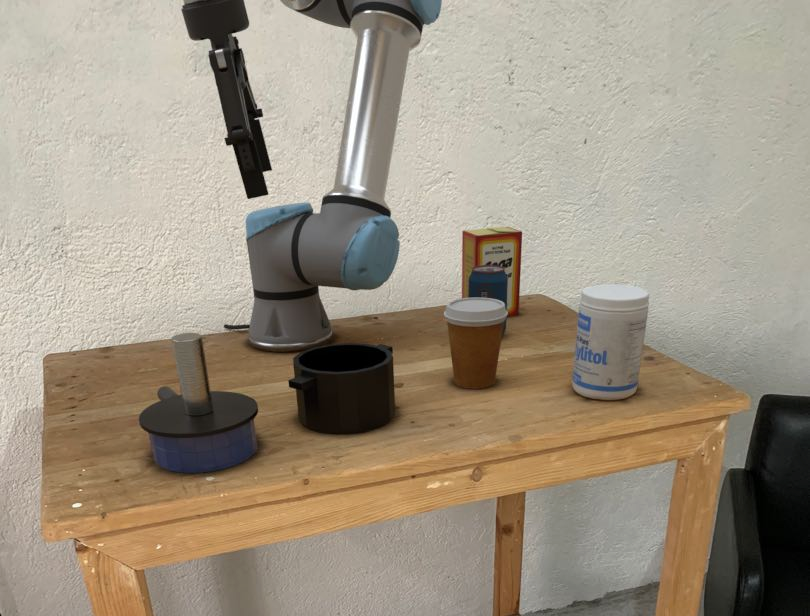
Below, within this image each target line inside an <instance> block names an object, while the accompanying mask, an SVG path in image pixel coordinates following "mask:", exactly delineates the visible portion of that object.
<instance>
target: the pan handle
mask: <svg viewBox="0 0 810 616" xmlns="http://www.w3.org/2000/svg"><path fill="white" fill-rule="evenodd" d="M178 395H179V393H176V391H175V390H173V388H172V387H169V386H167V385H164V386H161V387H159V388H158V390H157V397H158V399H159V401H161V400H164V399H167V398H170V397H174V396H178Z"/></svg>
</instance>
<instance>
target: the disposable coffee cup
mask: <svg viewBox="0 0 810 616" xmlns="http://www.w3.org/2000/svg"><path fill="white" fill-rule="evenodd" d="M507 314H508V312H507V311H506V309H505V304H504V302H502V301H500V300H497V299H491V298H479V297H474V298H462V297H461V298H457V299H453V300H450V301H449V302H447V304H446V308H445V310H444V312H443V316H444V319H445V322H446V324H447V331H448V340H449V348H450V358H451V364H452V365H451V366H452V373H453V382H454V384H455V386H457V387H460V388H464V389H473V390H475V389H485V388H489V387H492V386H493V385H494V384H495V382H496V376H497V371H498V363H499V357H500V350H501V343H502V337H503V335H502V331H503V325H504V321H505V319H506V320H507V317H508V316H507ZM506 316H507V317H506Z"/></svg>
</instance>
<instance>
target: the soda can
mask: <svg viewBox="0 0 810 616" xmlns="http://www.w3.org/2000/svg"><path fill="white" fill-rule="evenodd" d="M504 270H505V268H504V267H502V266H498V265H480V266H475V267H473V268H472V273H471V275H470V277H469V287H468V298H474V297H479V298H491V299H497V300H500V301H502V302H504V304H505V309H506V311H507V287H508V278H507V275H506V273H505V271H504ZM507 318H508V316H506V319H505V321H504V325H503V331H502V336H503V335H504V334H505V332H506V330H507Z"/></svg>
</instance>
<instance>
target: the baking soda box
mask: <svg viewBox="0 0 810 616" xmlns="http://www.w3.org/2000/svg"><path fill="white" fill-rule="evenodd" d="M461 232H462V233H461V235H462V236H461V237H462V238H461V239H462V241H461V243H462V245H461V247H462V248H461V263H462V264H461V299H462V298H468V287H469V277H470V275H471V273H472V268H473V267H475V266H480V265H498V266H502V267H504V268H505V270H504V271H505V273H506V275H507V278H508V287H507V312H508V314H507V317H514V316H515V317H516V316H519V315H520V294H521V293H520V291H521V270H522V248H523V247H522V246H523V231H521V230H518V229H516V228H512V227H509V226H497V227H495V226H494V227H486V228H476V229H467V230H466V229H465V230H462V231H461Z"/></svg>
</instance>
